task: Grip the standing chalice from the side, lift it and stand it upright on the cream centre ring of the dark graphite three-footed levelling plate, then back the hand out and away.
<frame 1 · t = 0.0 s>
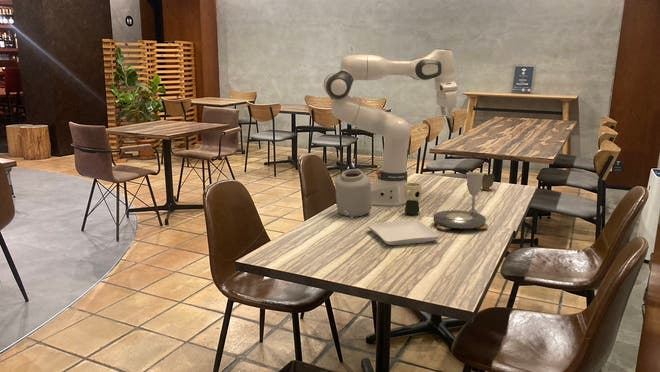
hand: (446, 116, 249), 39 cm above the table, tool pointing down, fingers open, 8 cm apart
chalice: (472, 215, 233), on the table
jar: (352, 215, 234), on the table
character mug: (411, 214, 235), on the table
salad plate: (402, 238, 206), on the table
levelling plate: (459, 225, 219), on the table
cup: (485, 190, 277), on the table
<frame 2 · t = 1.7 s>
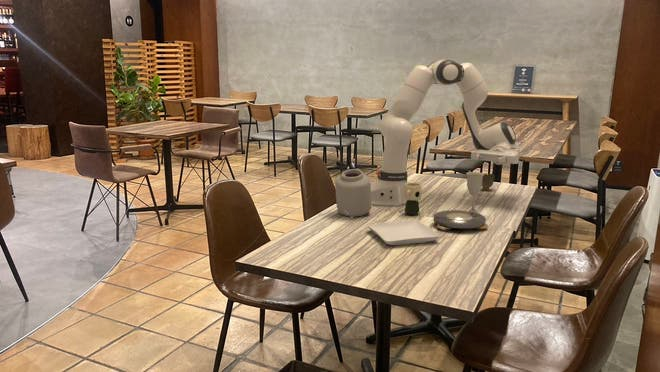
hand: (487, 159, 237), 22 cm above the table, tool horizontal, fingers open, 8 cm apart
nothing on the table moved.
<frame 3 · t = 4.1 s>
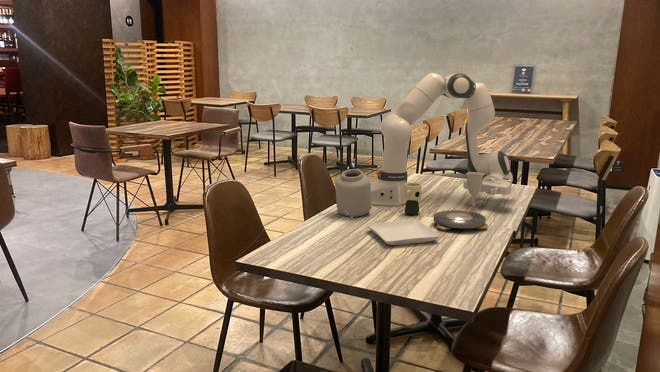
hand: (479, 189, 236), 10 cm above the table, tool horizontal, fingers open, 8 cm apart
nothing on the table moved.
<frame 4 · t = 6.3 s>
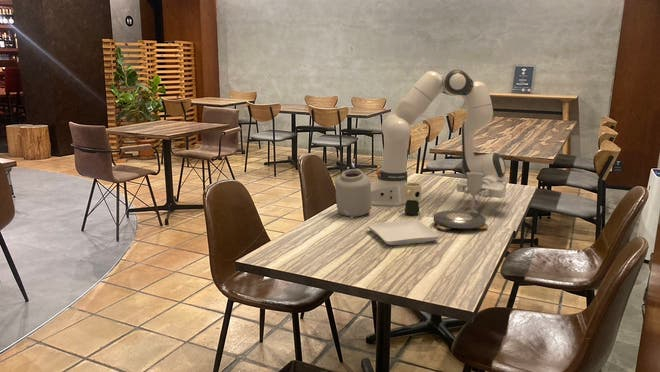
hand: (473, 192, 230), 10 cm above the table, tool horizontal, fingers closed on chalice, 5 cm apart
chalice: (472, 215, 233), on the table, touching gripper
everything else where it was.
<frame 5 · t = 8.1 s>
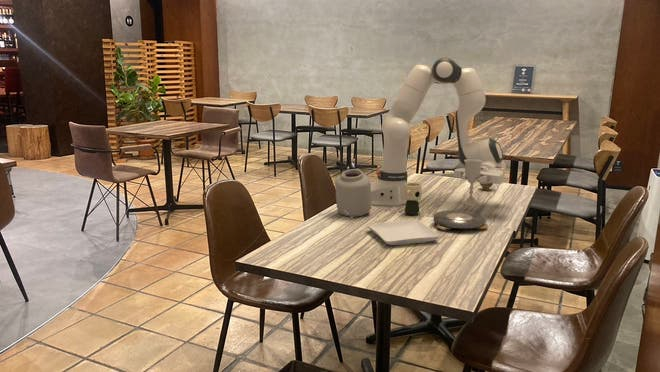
hand: (471, 178, 225), 17 cm above the table, tool horizontal, fingers closed on chalice, 5 cm apart
chalice: (470, 204, 229), point 6 cm above the table, touching gripper
everything else where it was.
when the fingers open (15 cm above the table, at t = 9.7 s): chalice stays where it is, resting on levelling plate.
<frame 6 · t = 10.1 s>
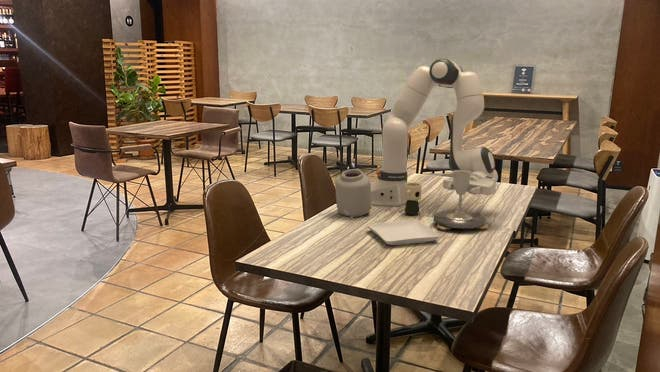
hand: (460, 189, 215), 15 cm above the table, tool horizontal, fingers open, 8 cm apart
chalice: (459, 217, 218), point 4 cm above the table, touching levelling plate
everything else where it was.
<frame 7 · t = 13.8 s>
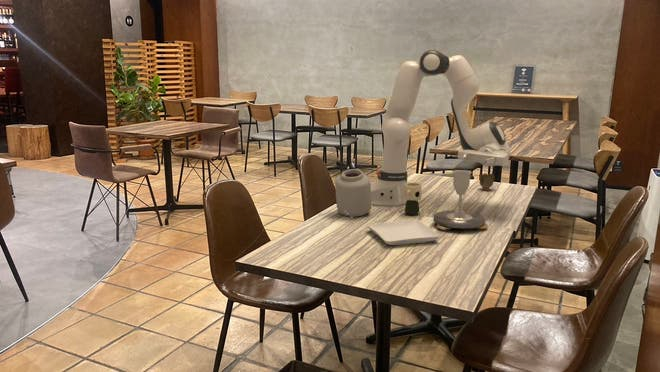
hand: (474, 159, 222), 25 cm above the table, tool horizontal, fingers open, 8 cm apart
nothing on the table moved.
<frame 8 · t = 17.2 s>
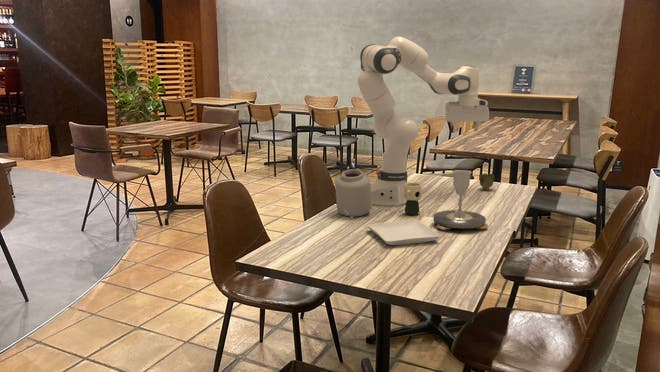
hand: (466, 131, 259), 31 cm above the table, tool pointing down, fingers open, 8 cm apart
nothing on the table moved.
at the end: chalice inside the target area on the levelling plate (0.1 cm from its centre), point 3.6 cm above the levelling plate's base; chalice tilted 0°; the gripper is holding nothing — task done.
